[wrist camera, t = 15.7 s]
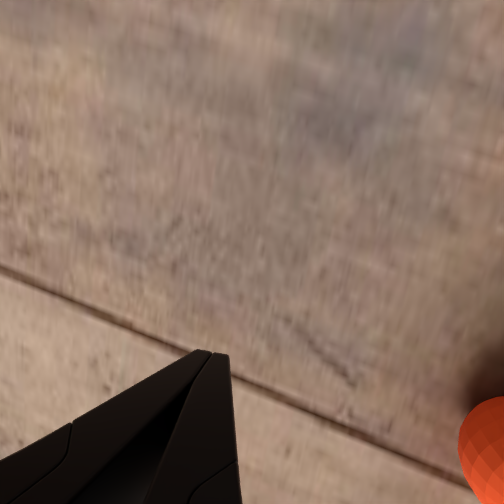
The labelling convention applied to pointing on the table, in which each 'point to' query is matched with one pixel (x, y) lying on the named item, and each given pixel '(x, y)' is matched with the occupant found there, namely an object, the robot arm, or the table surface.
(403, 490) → the table surface
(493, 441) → the clementine
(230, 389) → the robot arm
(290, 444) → the table surface
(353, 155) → the table surface
